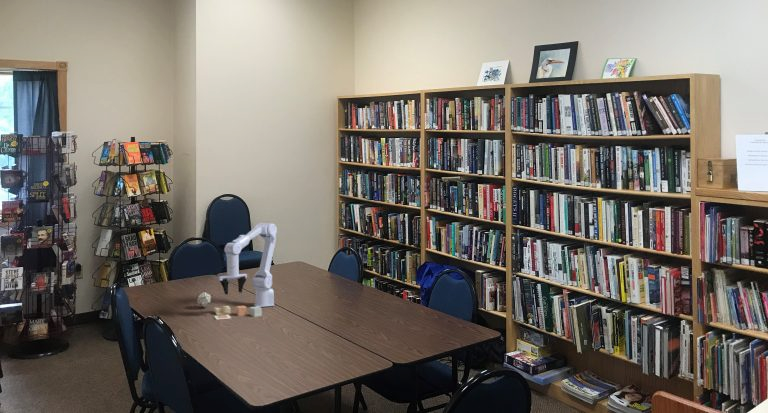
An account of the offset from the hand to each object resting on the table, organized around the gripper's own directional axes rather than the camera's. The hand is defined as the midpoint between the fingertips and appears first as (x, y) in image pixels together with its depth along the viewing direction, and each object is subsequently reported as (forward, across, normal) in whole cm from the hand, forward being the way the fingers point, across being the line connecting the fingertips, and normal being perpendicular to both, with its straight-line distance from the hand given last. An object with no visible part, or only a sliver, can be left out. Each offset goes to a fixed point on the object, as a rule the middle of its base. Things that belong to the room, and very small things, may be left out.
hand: (233, 293), depth 311 cm
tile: (+10, +8, +4) cm, 14 cm away
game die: (+11, +6, -21) cm, 24 cm away
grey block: (+11, -7, +11) cm, 16 cm away
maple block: (+11, +3, -6) cm, 13 cm away
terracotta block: (+11, -2, +4) cm, 12 cm away
